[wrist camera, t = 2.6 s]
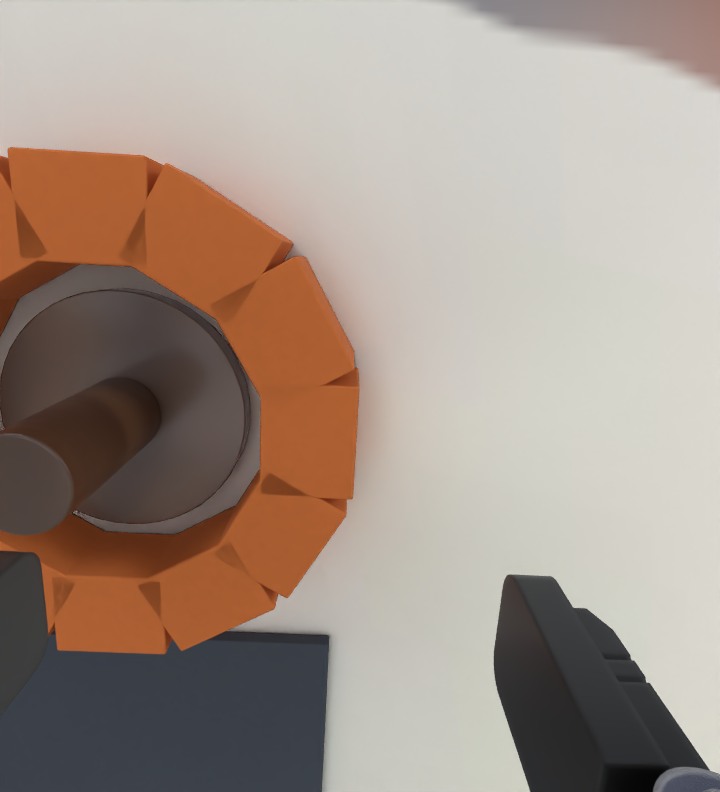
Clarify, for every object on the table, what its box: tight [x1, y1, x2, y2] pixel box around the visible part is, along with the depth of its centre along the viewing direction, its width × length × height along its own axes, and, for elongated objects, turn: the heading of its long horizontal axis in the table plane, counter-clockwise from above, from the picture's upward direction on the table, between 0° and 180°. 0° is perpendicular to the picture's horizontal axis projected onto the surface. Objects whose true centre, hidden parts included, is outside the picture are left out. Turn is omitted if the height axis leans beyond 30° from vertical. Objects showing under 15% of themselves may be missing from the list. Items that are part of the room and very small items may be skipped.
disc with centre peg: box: [0, 289, 250, 535], centre depth 17 cm, size 9×9×8 cm
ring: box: [0, 147, 359, 654], centre depth 19 cm, size 17×17×3 cm
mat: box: [0, 629, 329, 792], centre depth 24 cm, size 16×12×1 cm
